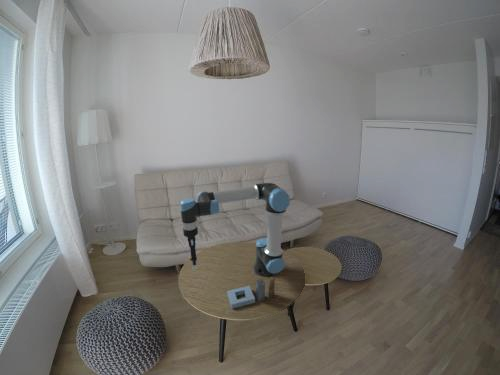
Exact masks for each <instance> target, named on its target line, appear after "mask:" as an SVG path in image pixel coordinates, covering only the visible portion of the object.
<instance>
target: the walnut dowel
mask: <svg viewBox="0 0 500 375" xmlns="http://www.w3.org/2000/svg"><path fill="white" fill-rule="evenodd" d="M275 282H276V280H275V278H274V277H273V276H272V277H270V276H269V277H268V287H267V288H268V290H267V292H268V293H267V296H268V298H270V299H273V298H275V289H276V288H275V284H276V283H275Z"/></svg>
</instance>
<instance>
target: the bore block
mask: <svg viewBox="0 0 500 375" xmlns="http://www.w3.org/2000/svg"><path fill="white" fill-rule="evenodd" d="M226 292H227V298H228V301H229V305H230V308H231V310H233V309H236V308H240V307H243V306H248V305H251V304H255V303H256V296H255V295H254V292H253V291H252V289H251V286H250V285H247V286H243V287H238V288H233V289H230V290H227V291H226ZM242 295H244V296H245V297H242V298H239V299H238V298H237V297H239V296H242Z"/></svg>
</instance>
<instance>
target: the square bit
mask: <svg viewBox="0 0 500 375" xmlns="http://www.w3.org/2000/svg"><path fill="white" fill-rule="evenodd" d="M265 298H266V283H265V281H264V279H263V278H261V279H257V280H256V281H255V299H256V300H257V302H258V303H260V302H263V301H266V299H265Z"/></svg>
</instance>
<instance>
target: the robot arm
mask: <svg viewBox="0 0 500 375" xmlns="http://www.w3.org/2000/svg"><path fill="white" fill-rule="evenodd" d="M196 198H197V201H195V199H194V198H184V199H182V200H181V201H180V203H179V204H180V205H179V206H180V215H181V221H182V222H181V224H180V225H182V228H183V229H182V232H183V236H184V237H186V238H187V242H188V247H189V255H190V259H189V261H191V269H192V271H194V270H198V258H197V252H196V251H197V250H196V245H197V244H196V236H197V235H198V234H199V231H198V230H199V229H198V226H199V225H198V218H197V217H204V216H214V215H217V214H219V212H220V205H221V204H227V203H235V202H240V201H247V200H259V201H260V200H263V201H264V202H265V211H266V212H267V229H266V230H267V232H266V237H263V238H260V239H258V240H257V241H256V243H255V251H256V253H255V256H256V257H255V262H254V264H253V272H254V273H255V274H256V275H257V276H259V277H270V276H273V274H278V273H279V272H281V271H282V270H284V268H285V267H286V261H285V259H284V258H283V252H284V250H283V249H282V248H281V245H282V233H283V231H282V229H283V218H284V213H286V211H287V209H288V207H289V206H290V204H291V198H290V195H289V194H288V192H287V191H286V190H285V189H283V188H282V187H280V186H279V185H277V184H276V183H273V182H262V183H256V184H254V185H252V186H246V187H239V188H232V189H231V188H230V189H225V190H218V191H211V192H208V191H206V190H202V191H200V192H199V193H198V194H197V197H196Z"/></svg>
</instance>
